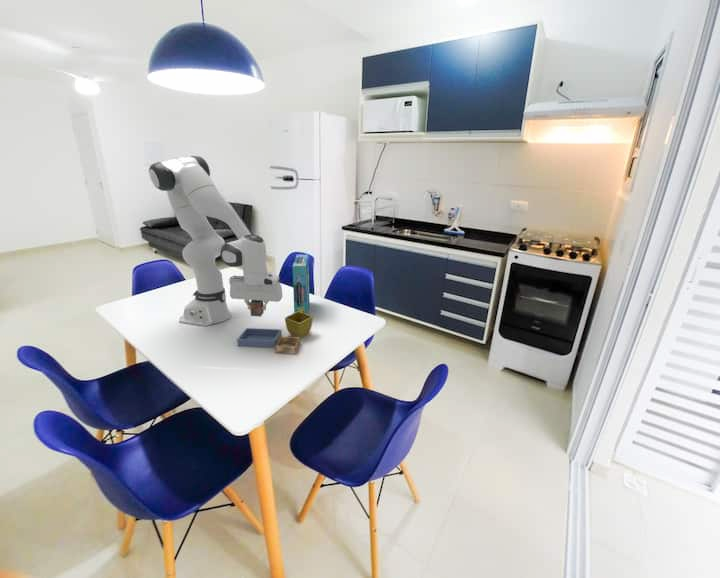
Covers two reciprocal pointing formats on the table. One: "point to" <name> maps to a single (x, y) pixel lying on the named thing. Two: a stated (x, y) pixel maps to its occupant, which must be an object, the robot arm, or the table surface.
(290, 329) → the flower pot
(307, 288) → the game box
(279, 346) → the wooden serving tray
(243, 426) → the table surface
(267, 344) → the blue tray
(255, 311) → the walnut block
